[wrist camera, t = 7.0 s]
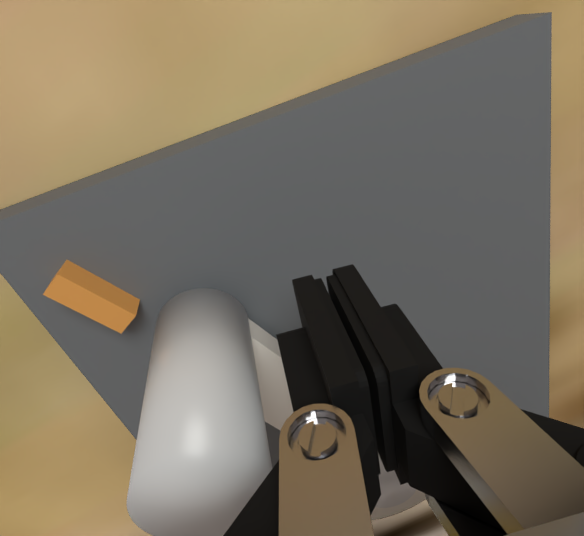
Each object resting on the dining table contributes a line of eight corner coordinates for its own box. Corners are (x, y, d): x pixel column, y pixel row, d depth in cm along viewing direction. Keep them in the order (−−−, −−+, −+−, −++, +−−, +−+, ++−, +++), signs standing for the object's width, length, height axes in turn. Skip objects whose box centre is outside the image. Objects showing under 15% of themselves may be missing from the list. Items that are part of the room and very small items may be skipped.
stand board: (528, 423, 23) (561, 461, 21) (236, 535, 23) (239, 584, 21) (516, 14, 13) (576, 10, 11) (-9, 213, 13) (-50, 247, 11)
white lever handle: (474, 426, 19) (575, 569, 14) (359, 509, 21) (411, 667, 15) (244, 226, 12) (273, 359, 7) (97, 370, 14) (35, 567, 9)
